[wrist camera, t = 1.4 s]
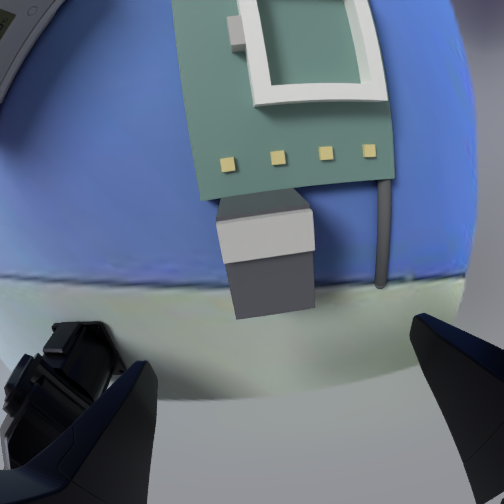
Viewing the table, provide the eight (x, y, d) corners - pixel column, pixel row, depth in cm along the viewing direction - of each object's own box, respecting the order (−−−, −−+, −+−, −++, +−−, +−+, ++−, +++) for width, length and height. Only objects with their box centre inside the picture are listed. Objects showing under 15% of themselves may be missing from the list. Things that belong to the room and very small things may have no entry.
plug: (296, 265, 21) (316, 312, 15) (236, 274, 21) (236, 324, 15) (289, 184, 18) (312, 207, 13) (221, 193, 18) (215, 220, 13)
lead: (382, 283, 22) (387, 289, 21) (372, 286, 22) (376, 292, 21) (384, 134, 17) (391, 135, 16) (372, 134, 17) (378, 135, 16)
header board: (386, 175, 18) (405, 182, 16) (203, 197, 18) (197, 207, 16) (353, -21, 12) (367, -35, 9) (173, -14, 12) (165, -31, 9)
